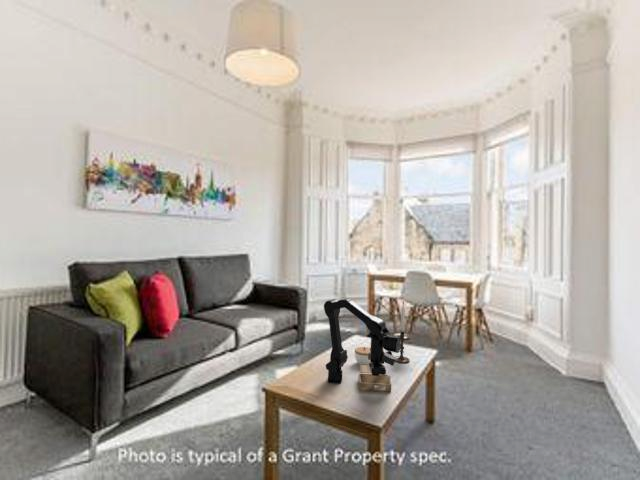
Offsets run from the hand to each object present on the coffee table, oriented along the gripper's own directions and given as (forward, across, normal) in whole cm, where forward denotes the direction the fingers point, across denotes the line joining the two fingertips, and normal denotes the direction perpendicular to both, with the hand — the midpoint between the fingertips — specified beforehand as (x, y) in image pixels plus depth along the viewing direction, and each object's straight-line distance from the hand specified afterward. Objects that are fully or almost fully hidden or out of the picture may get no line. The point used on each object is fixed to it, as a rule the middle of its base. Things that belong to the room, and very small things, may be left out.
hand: (375, 381), depth 161 cm
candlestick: (+6, +42, -20) cm, 46 cm away
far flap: (0, +14, 0) cm, 14 cm away
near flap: (-1, -1, 0) cm, 2 cm away
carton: (+5, +6, 0) cm, 8 cm away
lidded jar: (+6, +34, +3) cm, 35 cm away
